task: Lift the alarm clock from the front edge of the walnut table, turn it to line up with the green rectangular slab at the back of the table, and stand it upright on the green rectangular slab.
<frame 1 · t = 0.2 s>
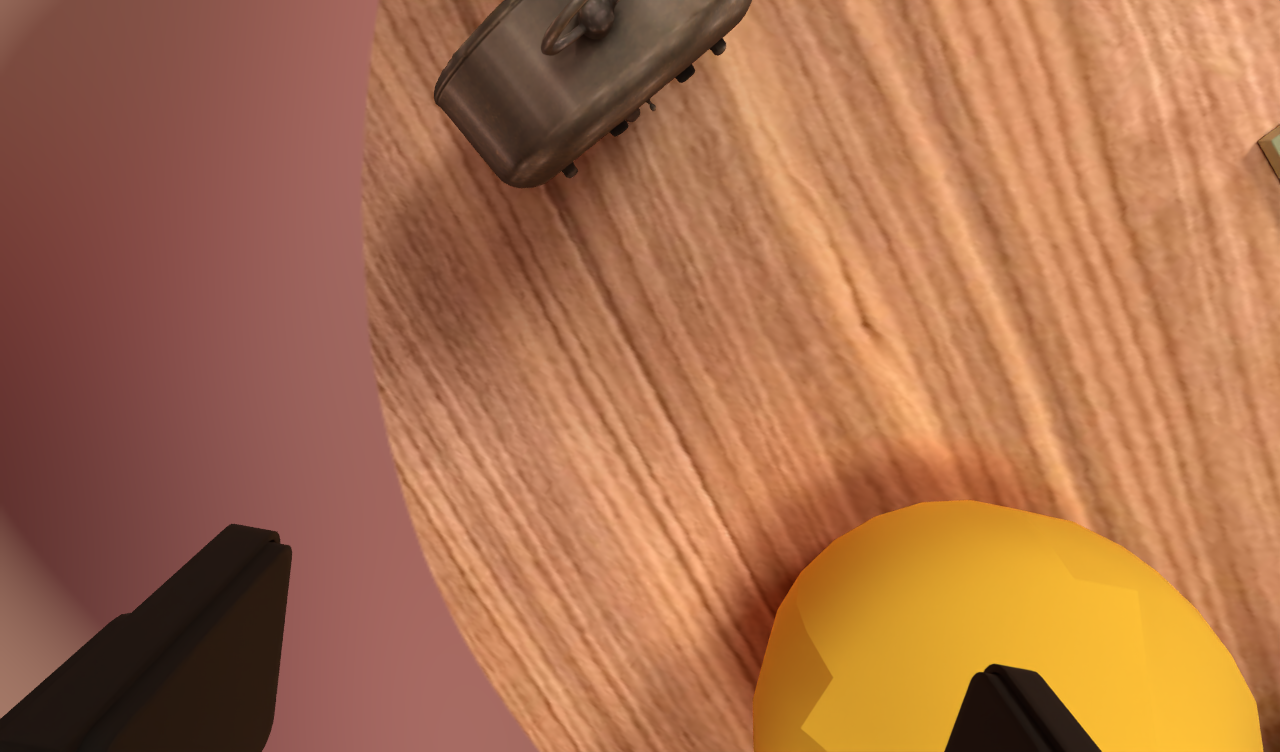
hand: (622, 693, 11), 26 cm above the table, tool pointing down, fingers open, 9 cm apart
alarm clock: (606, 74, 34), on the table
vase: (906, 610, 40), on the table
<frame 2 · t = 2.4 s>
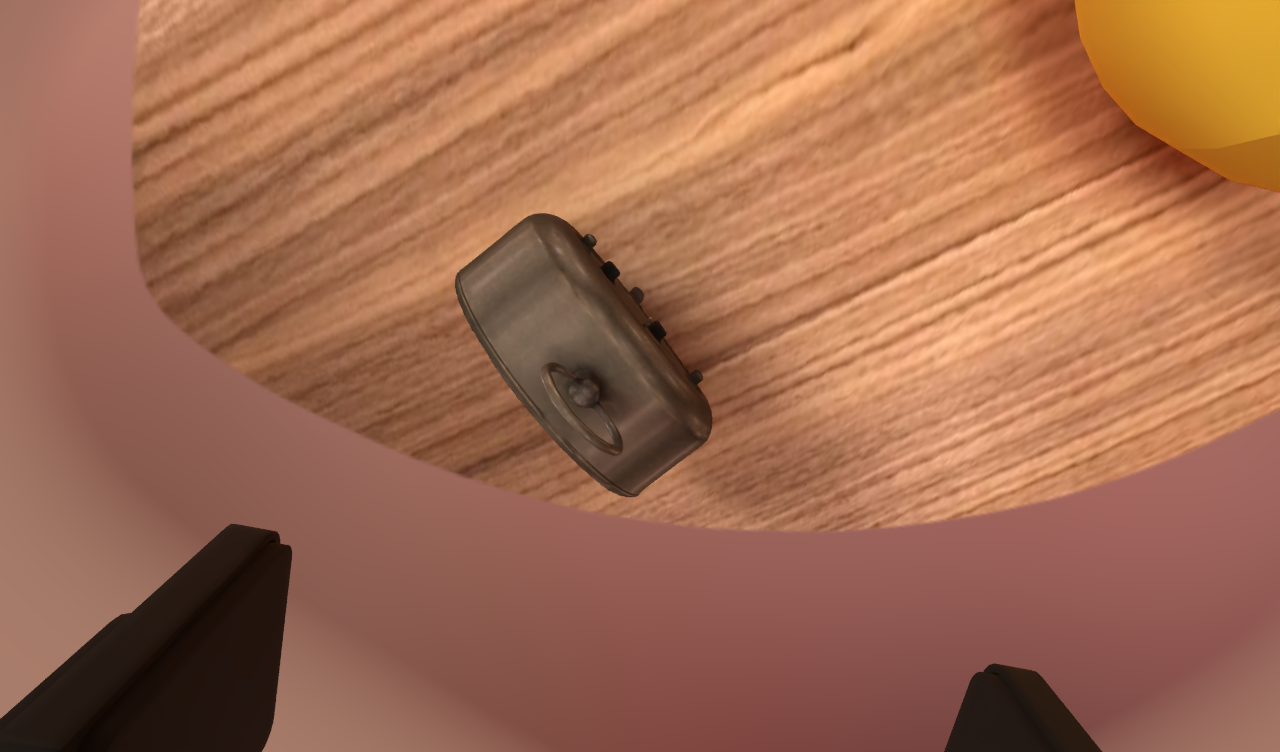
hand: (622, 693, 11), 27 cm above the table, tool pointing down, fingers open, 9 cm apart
alarm clock: (601, 316, 37), on the table
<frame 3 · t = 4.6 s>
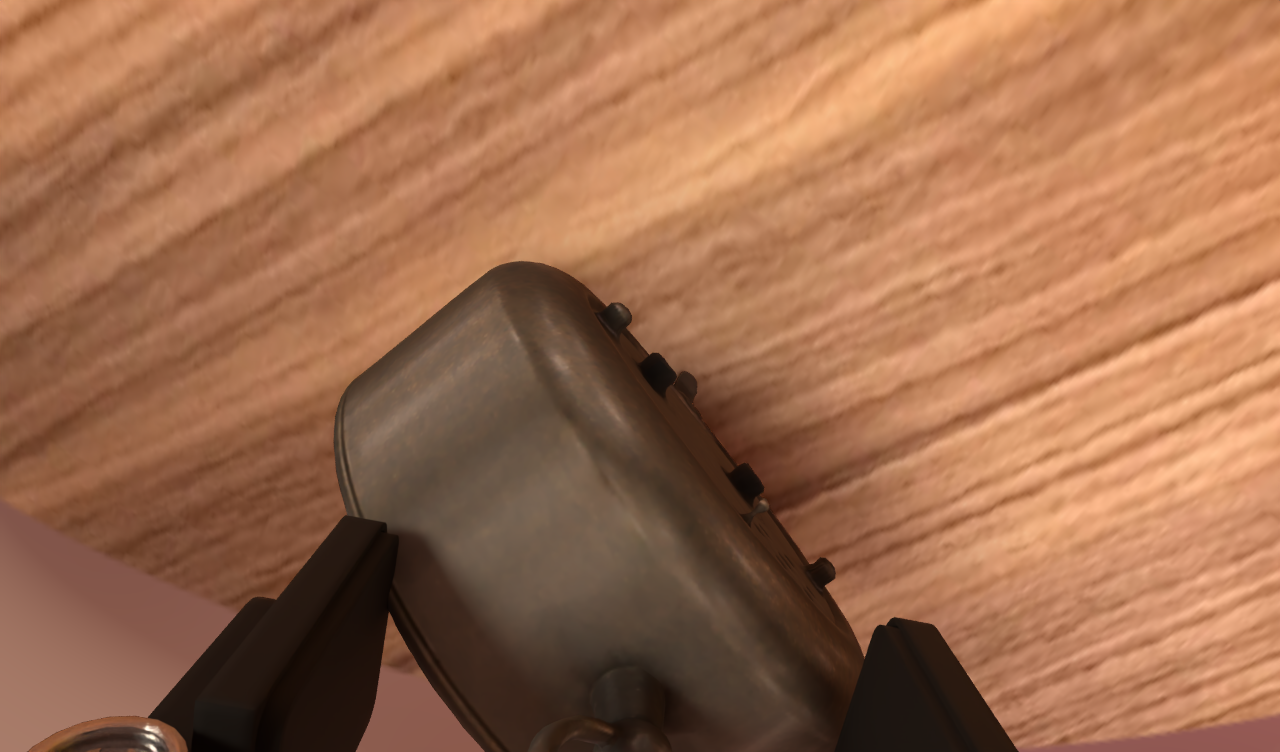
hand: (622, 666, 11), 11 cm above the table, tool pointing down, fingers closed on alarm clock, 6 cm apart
alarm clock: (625, 417, 22), on the table, touching gripper
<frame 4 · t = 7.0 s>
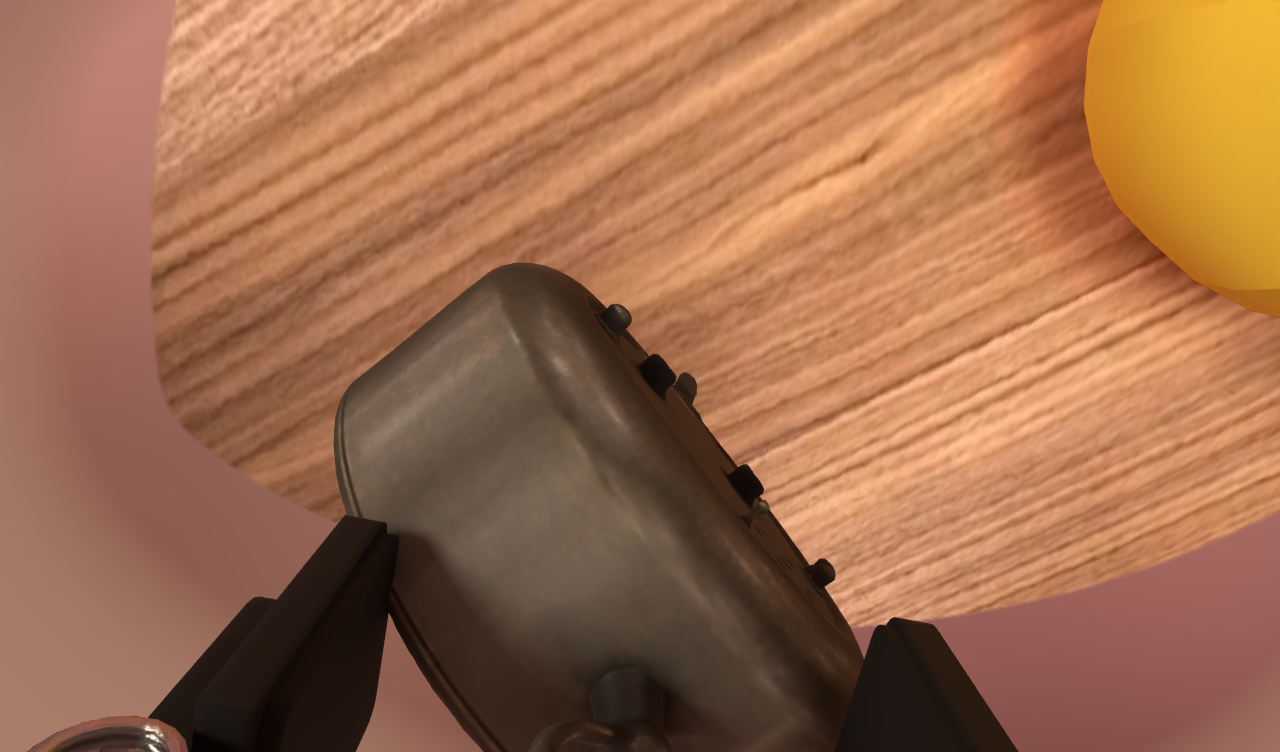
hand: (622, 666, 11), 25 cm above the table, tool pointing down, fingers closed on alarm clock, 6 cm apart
alarm clock: (625, 418, 22), point 14 cm above the table, touching gripper
vase: (1218, 74, 33), on the table
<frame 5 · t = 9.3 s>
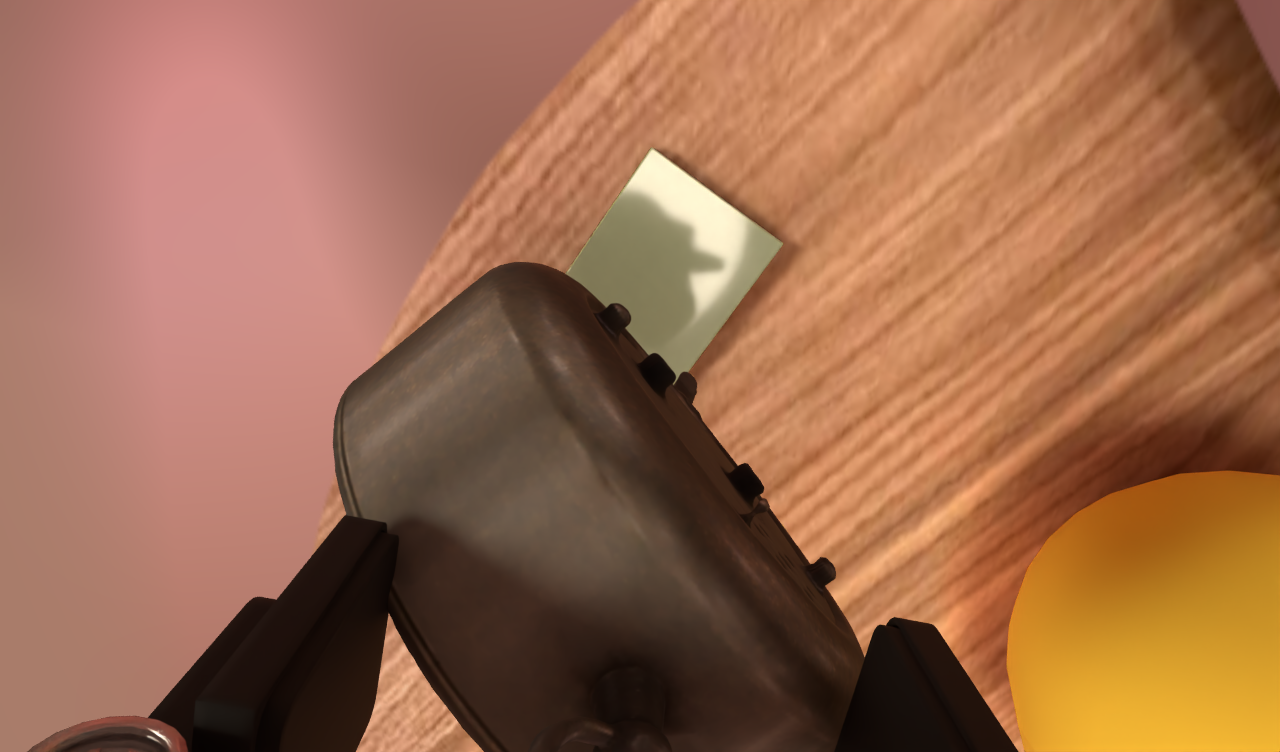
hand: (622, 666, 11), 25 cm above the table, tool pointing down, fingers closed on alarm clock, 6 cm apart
alarm clock: (625, 418, 22), point 14 cm above the table, touching gripper
vase: (1126, 586, 40), on the table
green rectangular slab: (631, 316, 36), on the table
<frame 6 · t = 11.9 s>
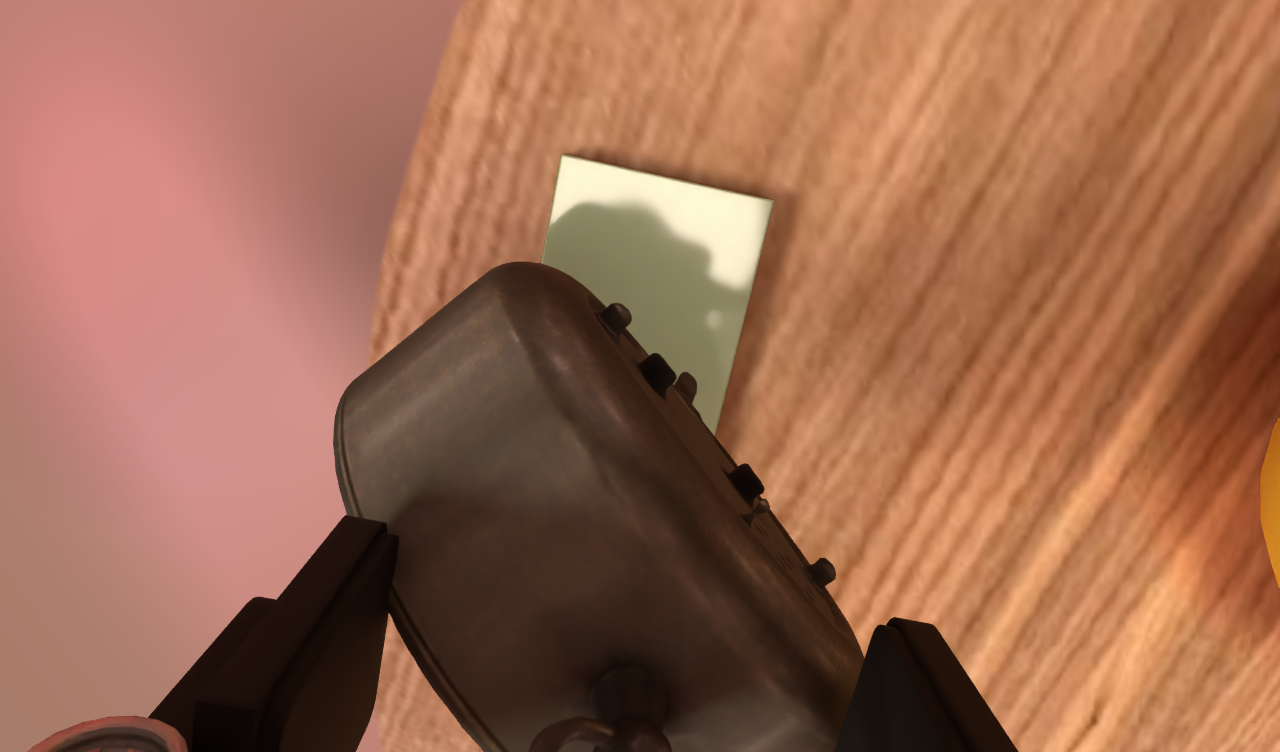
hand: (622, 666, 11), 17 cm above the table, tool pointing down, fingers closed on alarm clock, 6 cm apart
alarm clock: (625, 417, 22), point 6 cm above the table, touching gripper
green rectangular slab: (627, 364, 28), on the table
when the fingers open (12 cm above the table, at t = 13.9 s): alarm clock stays where it is, resting on green rectangular slab.
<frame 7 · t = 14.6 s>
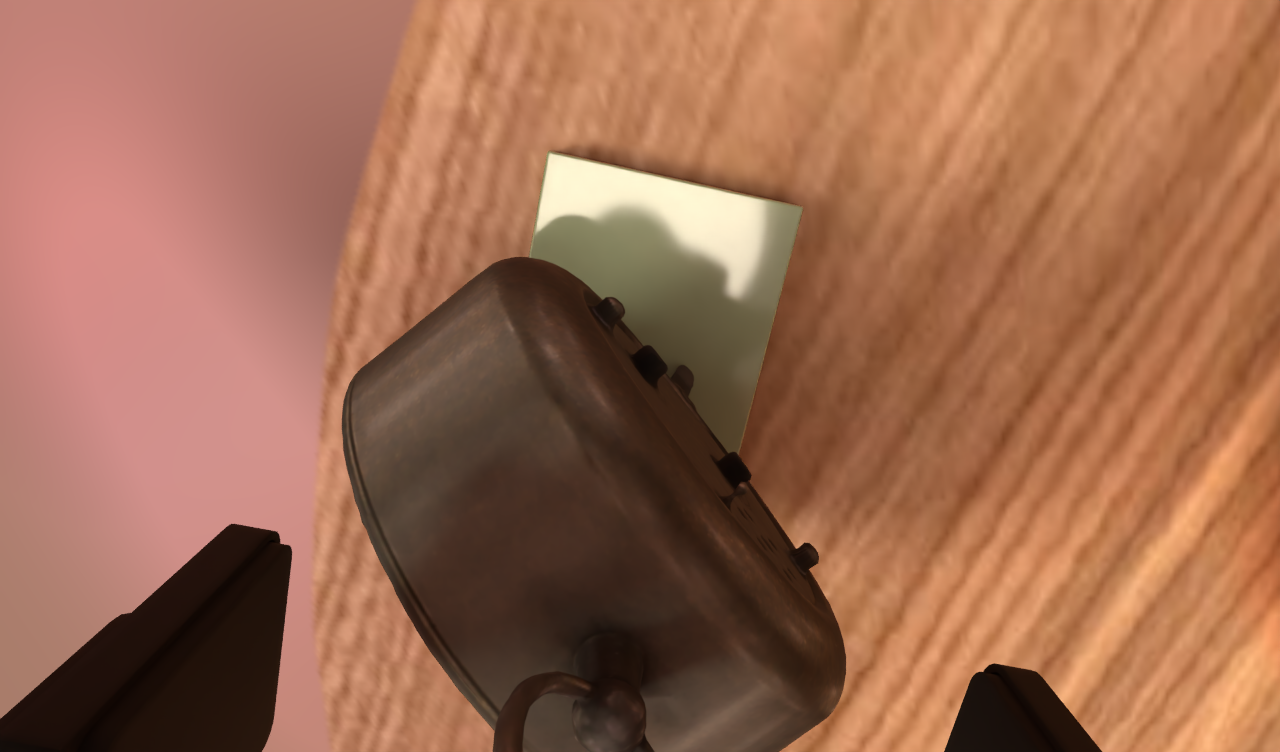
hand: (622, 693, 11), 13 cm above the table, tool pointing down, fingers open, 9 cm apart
alarm clock: (624, 409, 23), point 1 cm above the table, touching green rectangular slab
green rectangular slab: (627, 399, 23), on the table
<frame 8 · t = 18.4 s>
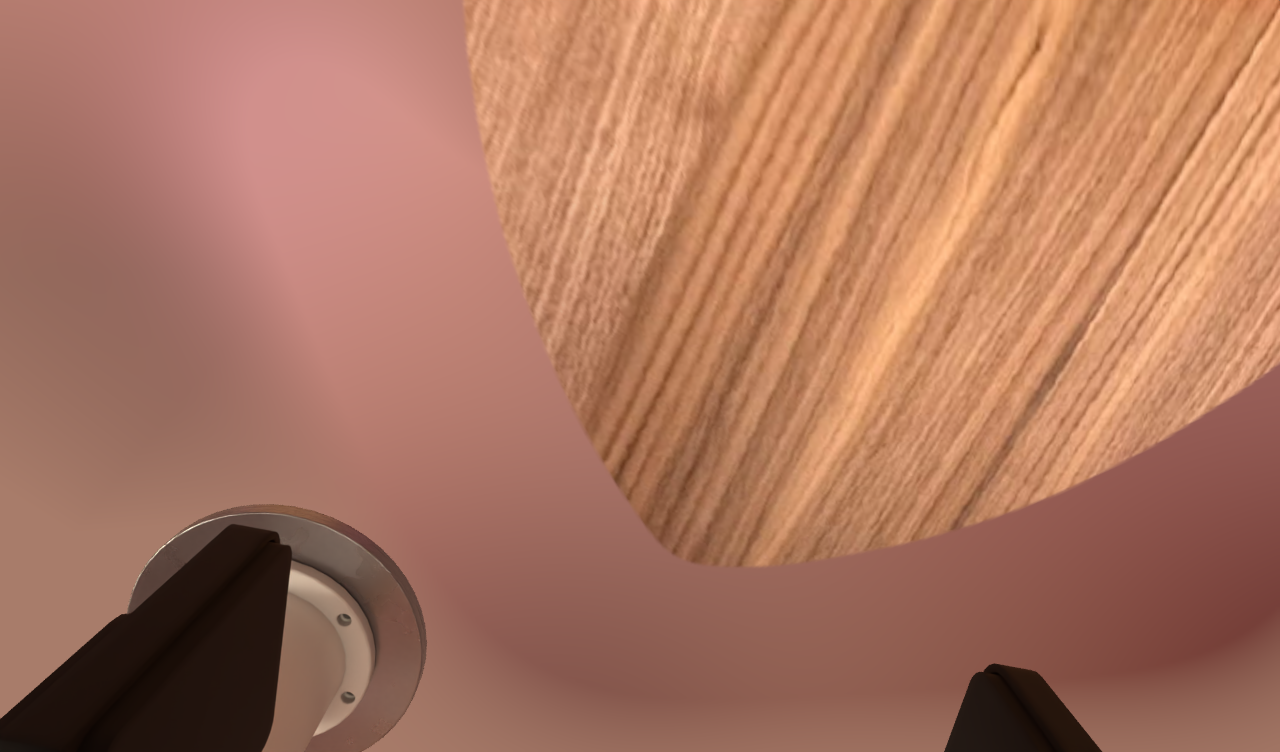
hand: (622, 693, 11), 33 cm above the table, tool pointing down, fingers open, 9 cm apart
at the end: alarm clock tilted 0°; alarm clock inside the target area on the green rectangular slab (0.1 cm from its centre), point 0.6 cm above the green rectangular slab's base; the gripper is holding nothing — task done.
